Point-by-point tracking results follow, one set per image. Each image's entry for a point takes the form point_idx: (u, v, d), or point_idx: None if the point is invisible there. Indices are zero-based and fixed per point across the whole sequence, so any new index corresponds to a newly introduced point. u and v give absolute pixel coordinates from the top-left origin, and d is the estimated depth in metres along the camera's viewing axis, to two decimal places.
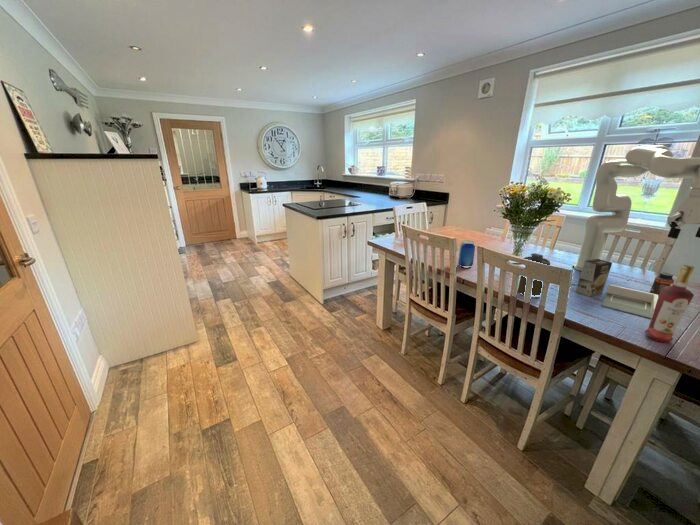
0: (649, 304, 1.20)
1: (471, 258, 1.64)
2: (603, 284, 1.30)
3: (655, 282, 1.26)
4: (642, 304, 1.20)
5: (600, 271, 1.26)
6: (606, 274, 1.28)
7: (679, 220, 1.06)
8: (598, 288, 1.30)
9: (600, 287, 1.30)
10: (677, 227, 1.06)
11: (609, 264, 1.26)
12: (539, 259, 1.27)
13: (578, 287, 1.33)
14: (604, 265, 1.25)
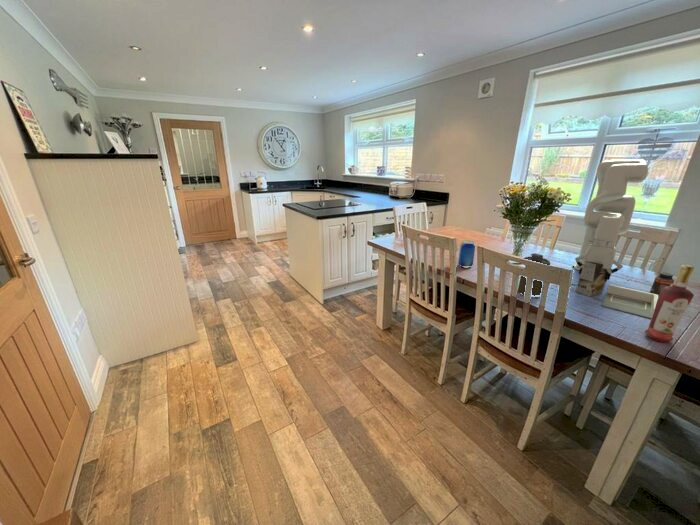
0: (649, 304, 1.20)
1: (471, 258, 1.64)
2: (603, 284, 1.30)
3: (655, 282, 1.26)
4: (642, 304, 1.20)
5: (600, 271, 1.25)
6: None
7: None
8: (598, 288, 1.30)
9: (600, 287, 1.30)
10: None
11: None
12: (539, 259, 1.27)
13: (578, 287, 1.33)
14: None
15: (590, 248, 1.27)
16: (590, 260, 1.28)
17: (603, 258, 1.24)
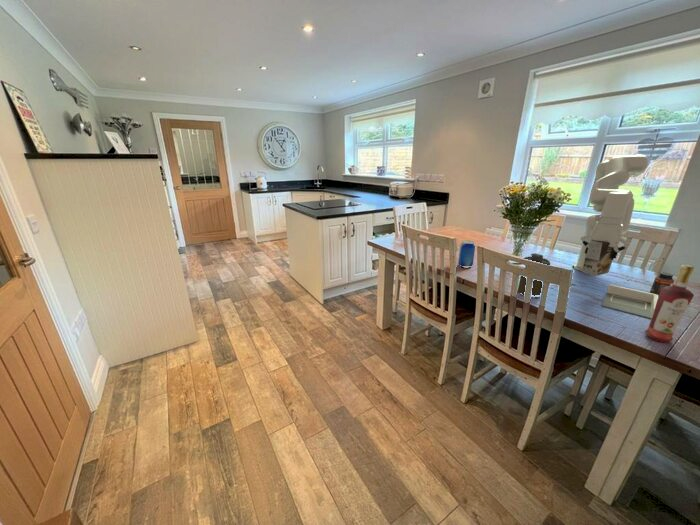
0: (649, 304, 1.20)
1: (471, 258, 1.64)
2: (610, 263, 1.27)
3: (655, 282, 1.26)
4: (642, 304, 1.20)
5: (606, 249, 1.22)
6: None
7: None
8: (604, 268, 1.27)
9: (606, 266, 1.27)
10: None
11: None
12: (539, 259, 1.27)
13: (584, 267, 1.30)
14: None
15: (596, 226, 1.23)
16: (596, 239, 1.24)
17: (610, 236, 1.21)
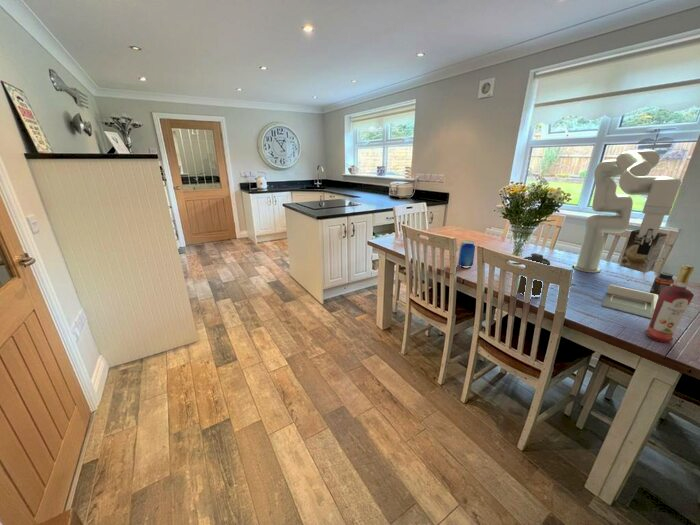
0: (649, 304, 1.20)
1: (471, 258, 1.64)
2: (645, 260, 1.13)
3: (655, 282, 1.26)
4: (642, 304, 1.20)
5: (633, 239, 1.15)
6: None
7: None
8: (634, 262, 1.16)
9: (638, 262, 1.15)
10: (650, 244, 1.10)
11: (652, 236, 1.10)
12: (539, 259, 1.27)
13: None
14: None
15: None
16: None
17: (641, 225, 1.13)
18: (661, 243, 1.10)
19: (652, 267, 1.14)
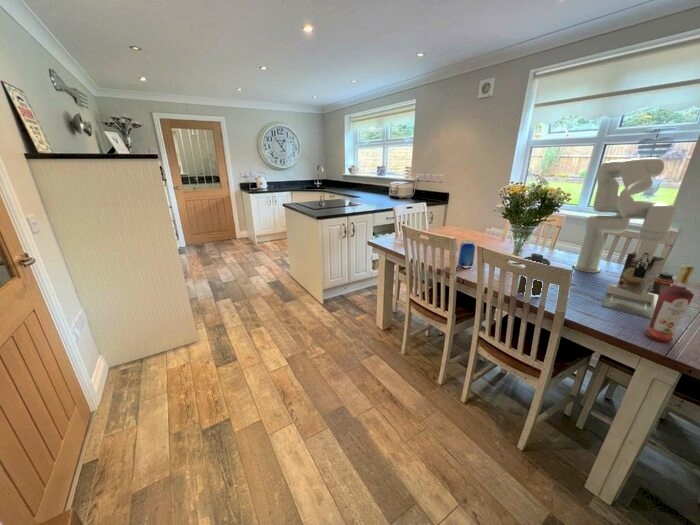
0: (649, 304, 1.20)
1: (471, 258, 1.64)
2: (641, 283, 1.15)
3: (655, 282, 1.26)
4: (642, 304, 1.20)
5: (630, 262, 1.18)
6: None
7: None
8: (631, 284, 1.18)
9: (634, 284, 1.17)
10: (645, 268, 1.12)
11: None
12: (539, 259, 1.27)
13: None
14: None
15: None
16: None
17: (637, 249, 1.15)
18: (657, 267, 1.13)
19: (648, 290, 1.16)
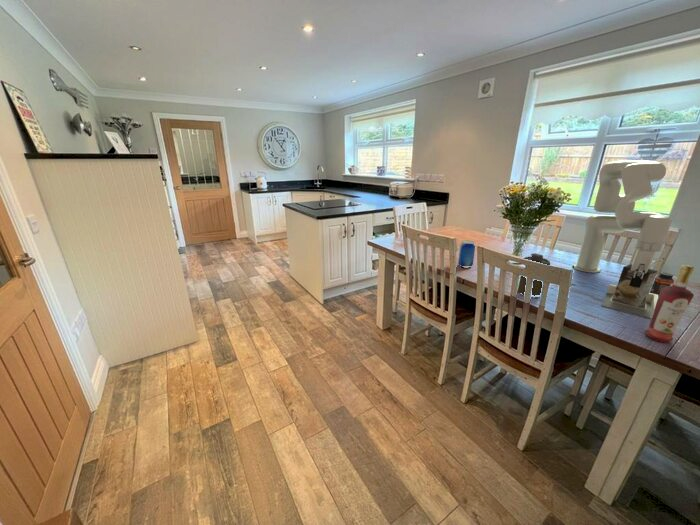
0: (649, 304, 1.20)
1: (471, 258, 1.64)
2: (637, 295, 1.17)
3: (655, 282, 1.26)
4: None
5: (625, 274, 1.20)
6: None
7: None
8: (626, 296, 1.21)
9: (630, 296, 1.20)
10: None
11: None
12: (539, 259, 1.27)
13: None
14: None
15: None
16: None
17: (634, 259, 1.17)
18: (652, 280, 1.15)
19: (643, 301, 1.19)
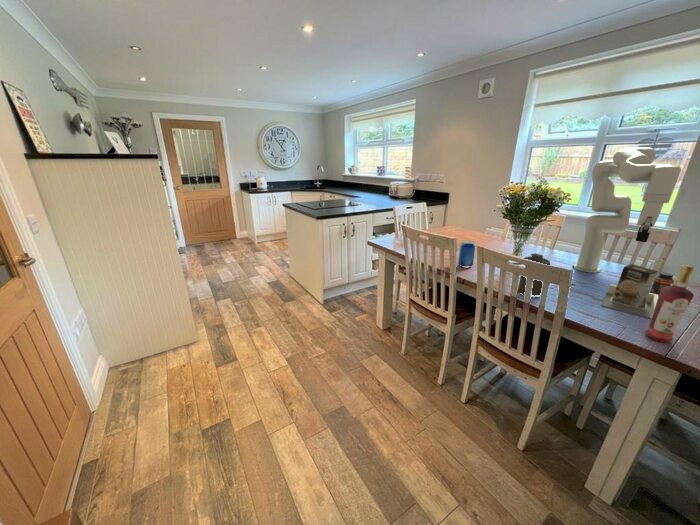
0: (649, 304, 1.20)
1: (471, 258, 1.64)
2: (637, 295, 1.17)
3: (655, 282, 1.26)
4: None
5: (625, 274, 1.20)
6: (639, 284, 1.16)
7: None
8: (627, 296, 1.21)
9: (630, 296, 1.20)
10: (649, 231, 1.11)
11: (643, 273, 1.14)
12: (539, 259, 1.27)
13: None
14: (633, 270, 1.17)
15: None
16: (639, 216, 1.17)
17: None
18: (652, 280, 1.15)
19: (643, 301, 1.19)
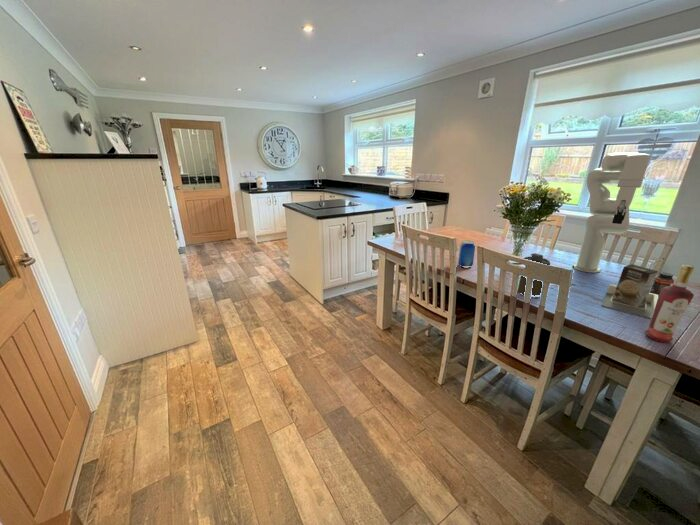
0: (649, 304, 1.20)
1: (471, 258, 1.64)
2: (637, 295, 1.17)
3: (655, 282, 1.26)
4: None
5: (625, 274, 1.20)
6: (639, 284, 1.16)
7: None
8: (627, 296, 1.21)
9: (630, 296, 1.20)
10: None
11: (643, 273, 1.14)
12: (539, 259, 1.27)
13: None
14: (633, 270, 1.17)
15: None
16: None
17: None
18: (652, 280, 1.15)
19: (643, 301, 1.19)
